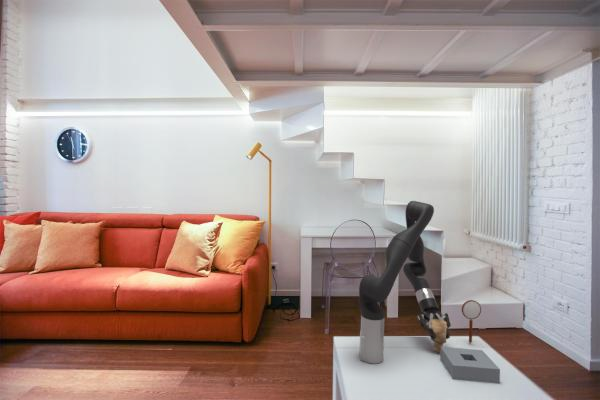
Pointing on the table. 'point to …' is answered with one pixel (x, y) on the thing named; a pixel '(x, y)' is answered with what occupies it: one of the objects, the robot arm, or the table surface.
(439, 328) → the peg
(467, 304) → the magnifying glass
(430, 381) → the table surface
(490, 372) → the board
